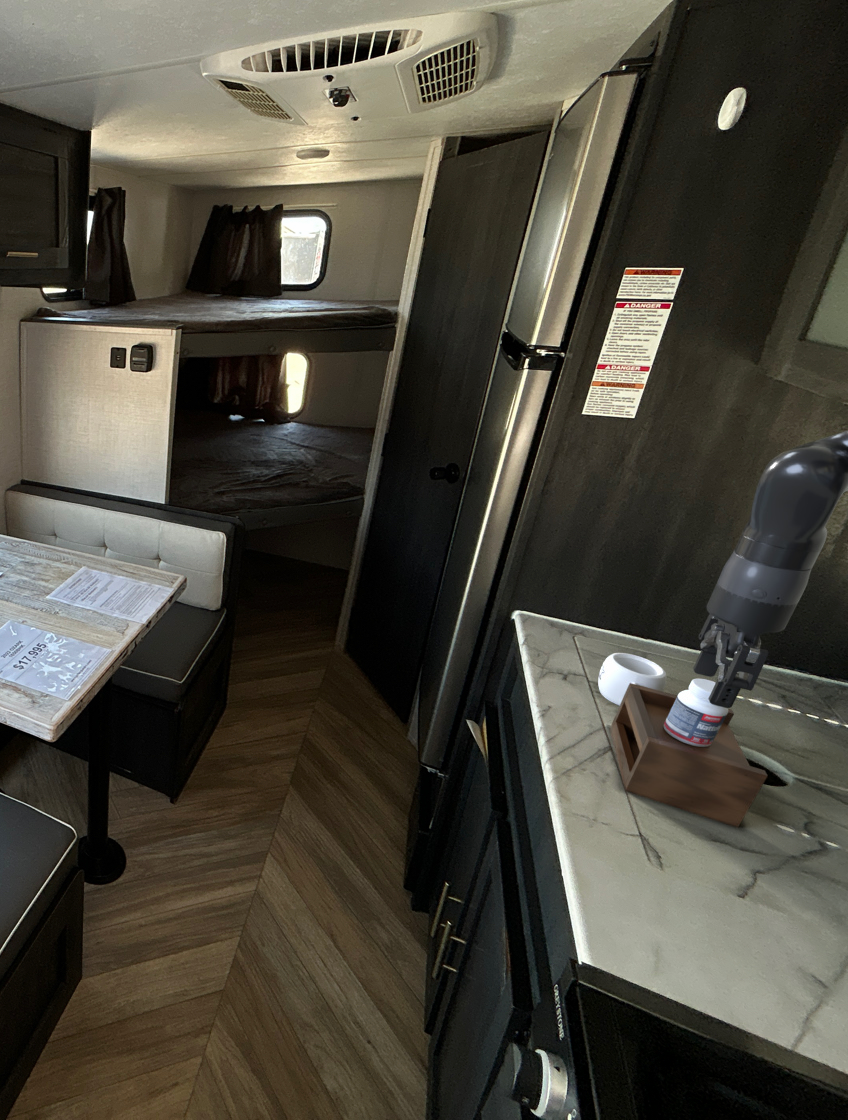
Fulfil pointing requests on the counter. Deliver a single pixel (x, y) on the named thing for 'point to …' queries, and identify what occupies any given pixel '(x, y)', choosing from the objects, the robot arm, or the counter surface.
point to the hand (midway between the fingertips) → (710, 688)
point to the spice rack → (681, 761)
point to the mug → (628, 675)
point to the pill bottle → (695, 715)
